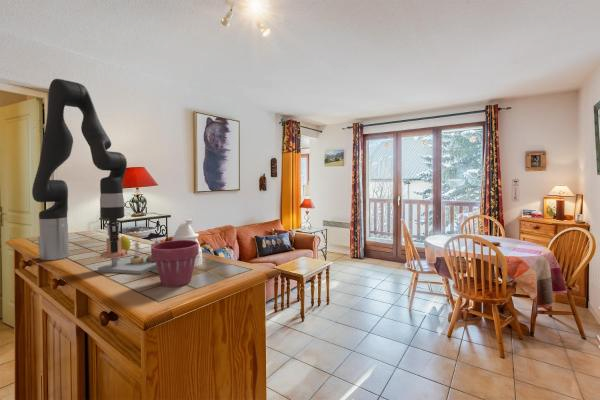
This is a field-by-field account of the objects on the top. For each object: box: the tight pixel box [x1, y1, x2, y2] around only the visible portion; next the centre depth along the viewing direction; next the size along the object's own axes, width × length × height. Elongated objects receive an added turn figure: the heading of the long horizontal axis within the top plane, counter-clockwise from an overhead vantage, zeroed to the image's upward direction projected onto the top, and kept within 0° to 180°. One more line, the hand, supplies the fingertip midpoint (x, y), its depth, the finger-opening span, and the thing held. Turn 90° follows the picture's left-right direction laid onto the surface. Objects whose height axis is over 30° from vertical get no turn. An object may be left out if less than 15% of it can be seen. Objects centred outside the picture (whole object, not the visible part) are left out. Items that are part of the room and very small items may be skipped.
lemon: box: [120, 235, 131, 252], centre depth 136 cm, size 6×6×8 cm
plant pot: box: [150, 240, 200, 288], centre depth 98 cm, size 14×14×13 cm
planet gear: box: [100, 236, 128, 260], centre depth 112 cm, size 8×8×6 cm
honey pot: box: [171, 218, 203, 268], centre depth 119 cm, size 13×13×18 cm
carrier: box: [97, 240, 161, 275], centre depth 117 cm, size 18×18×9 cm
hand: (114, 250), depth 112 cm, fingers closed on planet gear, 4 cm apart
